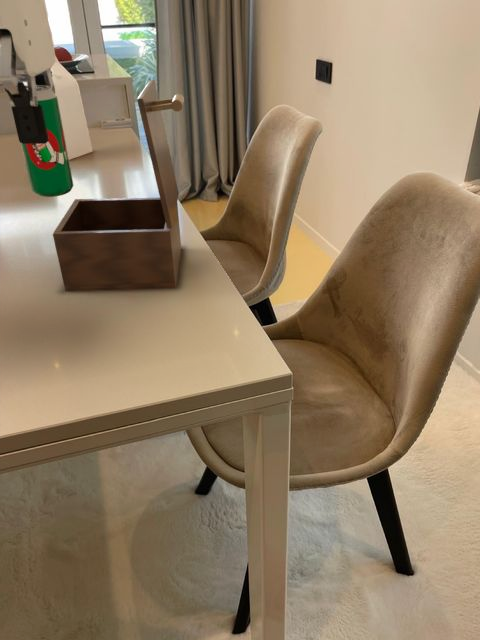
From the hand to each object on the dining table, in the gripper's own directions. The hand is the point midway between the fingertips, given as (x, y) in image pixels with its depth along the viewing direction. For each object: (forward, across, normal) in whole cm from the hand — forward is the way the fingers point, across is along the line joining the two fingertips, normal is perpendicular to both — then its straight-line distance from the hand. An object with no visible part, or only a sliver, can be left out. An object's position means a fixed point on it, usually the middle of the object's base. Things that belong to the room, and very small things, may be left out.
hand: (41, 135), depth 67 cm
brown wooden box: (+27, -20, +4) cm, 34 cm away
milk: (+28, -96, -27) cm, 104 cm away
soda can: (+7, 0, 0) cm, 7 cm away
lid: (+7, -20, +11) cm, 24 cm away
